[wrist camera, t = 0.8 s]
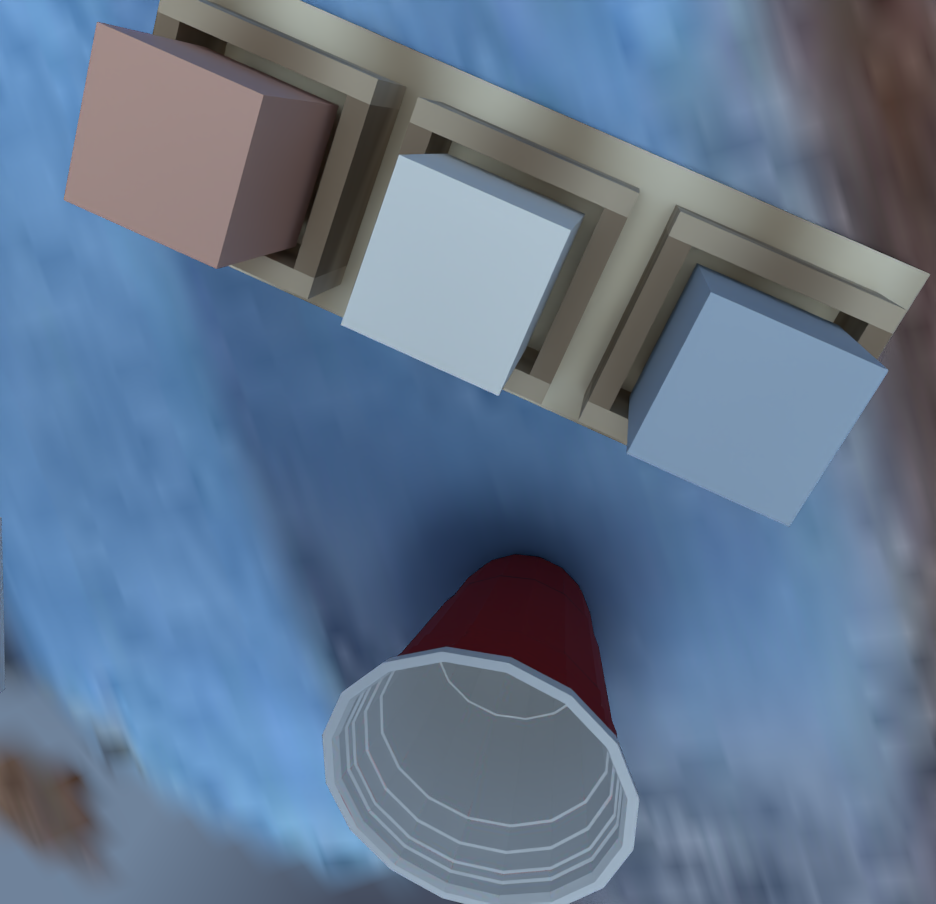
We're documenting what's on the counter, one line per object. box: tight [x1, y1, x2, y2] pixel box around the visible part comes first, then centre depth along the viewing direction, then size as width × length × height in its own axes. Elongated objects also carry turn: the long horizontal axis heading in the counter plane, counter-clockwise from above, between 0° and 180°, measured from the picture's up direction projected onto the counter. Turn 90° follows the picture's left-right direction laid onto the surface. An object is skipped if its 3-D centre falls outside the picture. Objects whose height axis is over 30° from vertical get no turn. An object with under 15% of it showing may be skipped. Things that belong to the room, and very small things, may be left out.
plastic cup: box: [322, 554, 639, 904], centre depth 33 cm, size 11×11×12 cm
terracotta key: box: [64, 22, 339, 269], centre depth 26 cm, size 5×5×6 cm
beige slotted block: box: [153, 0, 930, 445], centre depth 30 cm, size 28×10×6 cm, turn 68°
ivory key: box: [341, 154, 585, 396], centre depth 26 cm, size 5×5×6 cm
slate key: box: [627, 263, 889, 527], centre depth 25 cm, size 5×5×6 cm
